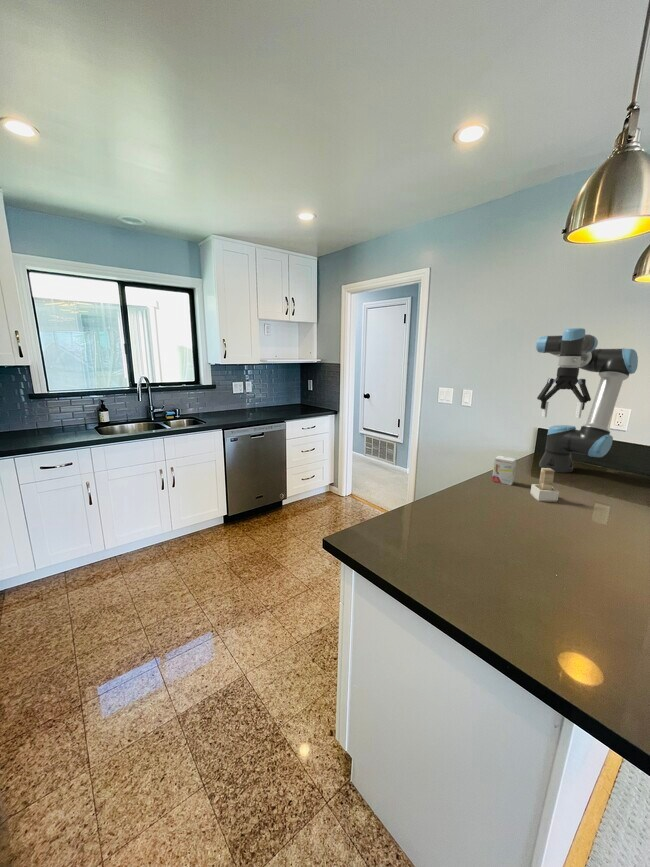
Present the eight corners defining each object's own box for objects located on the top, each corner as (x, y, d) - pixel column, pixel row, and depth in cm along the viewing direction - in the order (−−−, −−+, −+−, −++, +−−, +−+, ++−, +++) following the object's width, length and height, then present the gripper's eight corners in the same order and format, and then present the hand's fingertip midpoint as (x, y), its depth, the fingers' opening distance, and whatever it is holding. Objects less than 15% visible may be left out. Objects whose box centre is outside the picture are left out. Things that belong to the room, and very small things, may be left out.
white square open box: (530, 494, 151) (531, 484, 150) (548, 495, 150) (550, 485, 149) (538, 500, 144) (539, 490, 143) (557, 501, 143) (559, 491, 142)
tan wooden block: (537, 494, 149) (541, 467, 146) (546, 495, 148) (550, 468, 146) (541, 498, 146) (545, 470, 143) (550, 498, 145) (554, 470, 142)
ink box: (491, 481, 166) (494, 457, 164) (494, 478, 170) (496, 455, 168) (511, 485, 161) (514, 460, 159) (513, 482, 165) (516, 458, 162)
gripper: (541, 366, 144) (534, 417, 149) (606, 367, 141) (597, 419, 146) (532, 366, 151) (526, 414, 156) (595, 367, 148) (586, 416, 153)
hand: (560, 417), depth 151 cm, fingers open, 13 cm apart
